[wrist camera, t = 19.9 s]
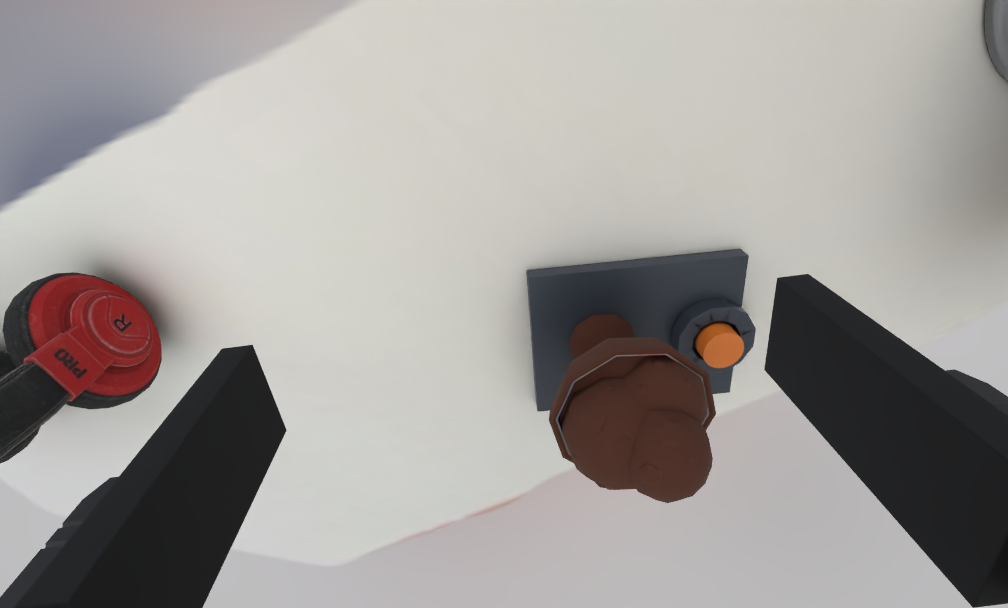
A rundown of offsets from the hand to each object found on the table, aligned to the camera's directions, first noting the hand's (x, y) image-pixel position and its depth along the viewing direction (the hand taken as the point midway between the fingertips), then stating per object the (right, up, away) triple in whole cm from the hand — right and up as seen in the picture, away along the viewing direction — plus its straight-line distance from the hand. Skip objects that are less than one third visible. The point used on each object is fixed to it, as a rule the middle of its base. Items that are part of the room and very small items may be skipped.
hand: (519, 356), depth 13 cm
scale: (+10, -1, +31) cm, 32 cm away
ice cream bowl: (+8, -2, +30) cm, 31 cm away
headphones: (-35, -1, +29) cm, 45 cm away
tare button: (+16, -1, +28) cm, 33 cm away
